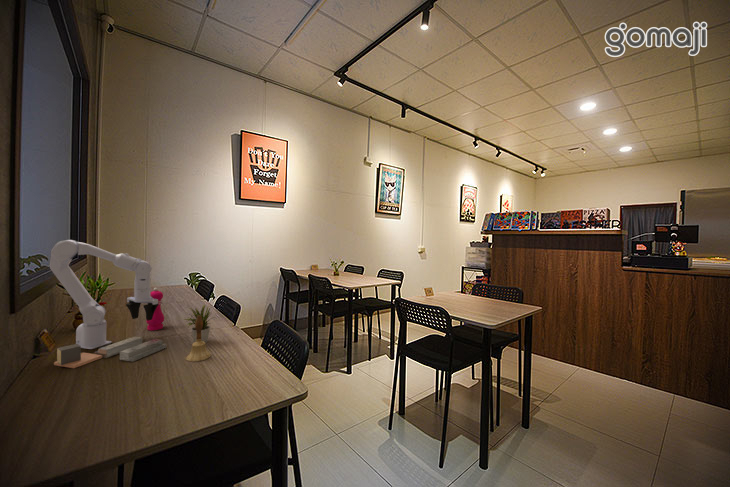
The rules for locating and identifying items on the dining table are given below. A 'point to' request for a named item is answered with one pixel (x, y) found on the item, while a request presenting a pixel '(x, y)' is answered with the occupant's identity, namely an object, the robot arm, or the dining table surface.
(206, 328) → the house plant
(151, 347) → the parallel gray bars
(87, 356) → the pad
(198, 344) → the hand bell
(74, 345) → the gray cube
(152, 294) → the pepper mill
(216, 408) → the dining table surface
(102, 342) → the robot arm
